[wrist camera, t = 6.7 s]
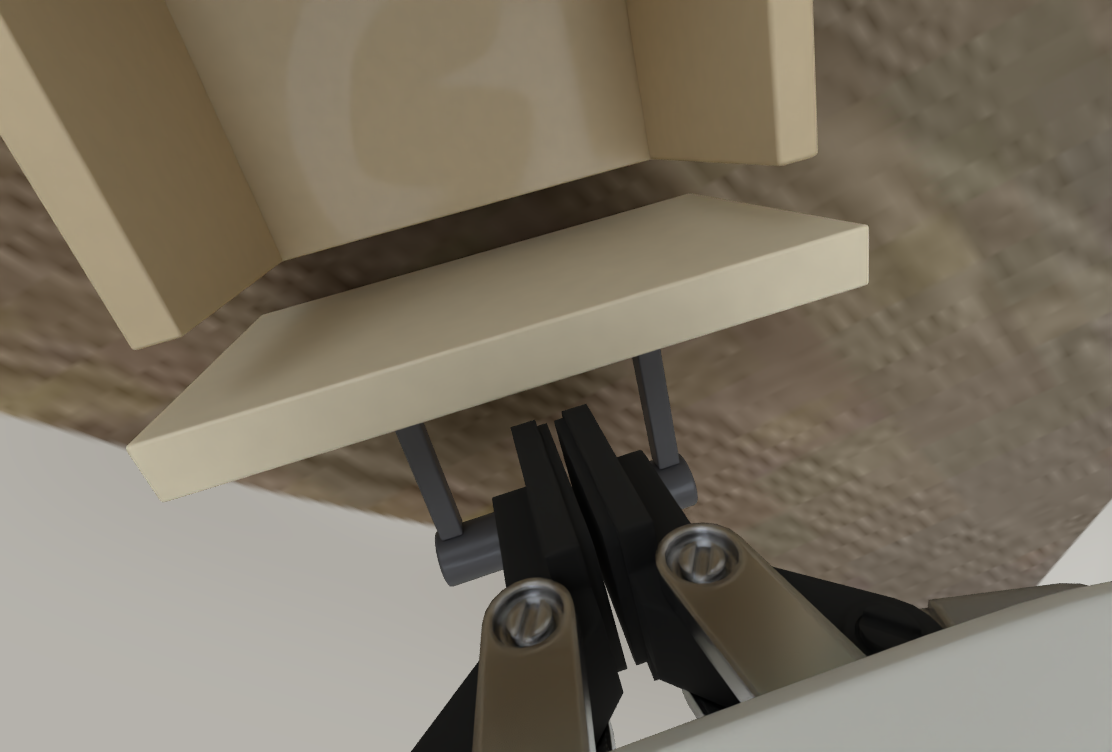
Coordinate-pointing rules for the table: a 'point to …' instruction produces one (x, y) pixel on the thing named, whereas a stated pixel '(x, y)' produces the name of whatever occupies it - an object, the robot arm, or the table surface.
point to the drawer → (412, 204)
